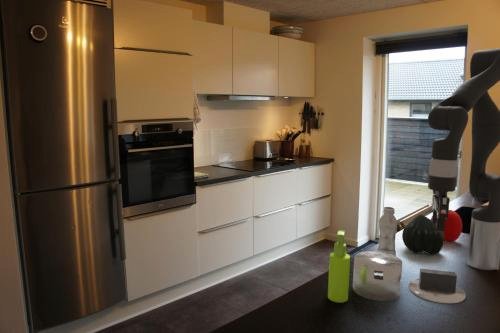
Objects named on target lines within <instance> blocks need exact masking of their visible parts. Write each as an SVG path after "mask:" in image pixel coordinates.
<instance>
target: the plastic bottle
mask: <svg viewBox="0 0 500 333" xmlns="http://www.w3.org/2000/svg"><path fill="white" fill-rule="evenodd" d="M382 212H383V214H382V215H381V216H380V218H379V219H378V231H379V233H378V234H379V237H378V238H379V239H378V247H377V250H376V251H381V252H384V253H388V254H391V255H394V256H396V257H397V251H396V235H397V234H396V233H397V230H398V220H397V218H396V216H395V207H392V206H384V207H383V211H382Z"/></svg>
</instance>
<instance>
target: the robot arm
mask: <svg viewBox="0 0 500 333" xmlns="http://www.w3.org/2000/svg"><path fill="white" fill-rule="evenodd" d="M469 76H470V78H469V79H467V80H465V81H463V83H460V85H459V86H458V87H456V89H455V90H454V91H453V92H452V94H451V95H450V96H448V97H447V98H444V99H443V100H442V101H440V102H438V103H437V104H435V105H434V106H433V107H432V108H431V109H430V111H429V113H428V116H427V124H428V125H429V127H430V128H431V129H433V130H436V131H448V132H449V133H448V134H447V135H446V137H441V138H436V139H434V140H433V142H432V147H431V159H430V163H429V169H428V170H429V172H428V181H427V182H428V184H427V187H428V189H429V190H432V198H431V200H432V202H431V209H432V216H433V217H432V216H431V218H432V222H433V223H437V226H436V229H437V231H445V222H446V219H447V218H448V212H449V210H450V201H451V200H450V197H449V196H448V193H449V192H450V193H451V192H454V191H456V189H457V188H456V187H457V178H458V177H457V176H458V158H459V157H458V156H459V146H460V143H461V140H462V137H463V134H464V132H465V130H466V128H467V125H468V123H469V114H468V113H469V112H470V111H471V162H470V170H469V171H470V172H469V179H468V180H469V183H468V188H469V193H470V196H471V197H473V198H474V199H481V200H484V201H488V205H487V206H484V207H477V208H474V209H472V211H471V220H470V232H469V240H468V248H467V249H468V252H467V259H466V260H467V262H466V263H467V265H468V266H470V267H471V268H475V269H476V270H477V269H478V270H483V271H493V270H497V271H498V270H499V266H500V174H493V173H486V168H487V167H486V166H487V163H488V159H489V157H490V156H491V154H493V152H494V150H496V149H497V147H498V146H499V144H500V109H499V107H498V105H496V103H495V102H494V100H493V99H492V97H491V96H490V94H489V90H490V89H492V88H493V87H494V86H495V85H496V84H498V83H499V82H500V48H491V49H480V50H475V51H474V52H473V53H472V54H471V58H470V62H469ZM441 212H444V214H441Z"/></svg>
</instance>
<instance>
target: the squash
mask: <svg viewBox="0 0 500 333" xmlns="http://www.w3.org/2000/svg"><path fill="white" fill-rule="evenodd" d="M436 226H437V224H436V223H433V222H432V220H431V218H428V217H427V216H426V215H423V214H422V213H420V214H418V215H417V216H415V217H414V218H413V219H412V220H410V221H409V222H408V223H407V224H406V225H405V226H404V228H403V229H402V234H401V238H402V242H403V244H404V246H405V248H407V249H408V250H409V251H410V252H411V253H414V254H419V253H420V254H423V253H427V254H428V255H432V256H434V255H437V254H440V252H441V251H442V249H443V246H444V243H445V242H444V234H443V231H437V229H436Z"/></svg>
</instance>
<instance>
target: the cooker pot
mask: <svg viewBox="0 0 500 333" xmlns="http://www.w3.org/2000/svg"><path fill="white" fill-rule="evenodd" d="M402 270H403V261H402V259H401V258H400V257H398V256H397V255H396V256H394V255H391V254H388V253H384V252H381V251H377V250H373V251H370V250H369V251H368V250H367V251H366V250H365V251H361V252H357V253H356V254H354V259H353V273H352V274H353V278H352V290H353V292H354V293H356V294H357V295H358V296H360V297H362V298H365V299H367V300H372V301H379V302H389V301H394V300H396V299H398V298H399V297H400V295H401V289H402V288H401V286H402V273H403V271H402Z"/></svg>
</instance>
